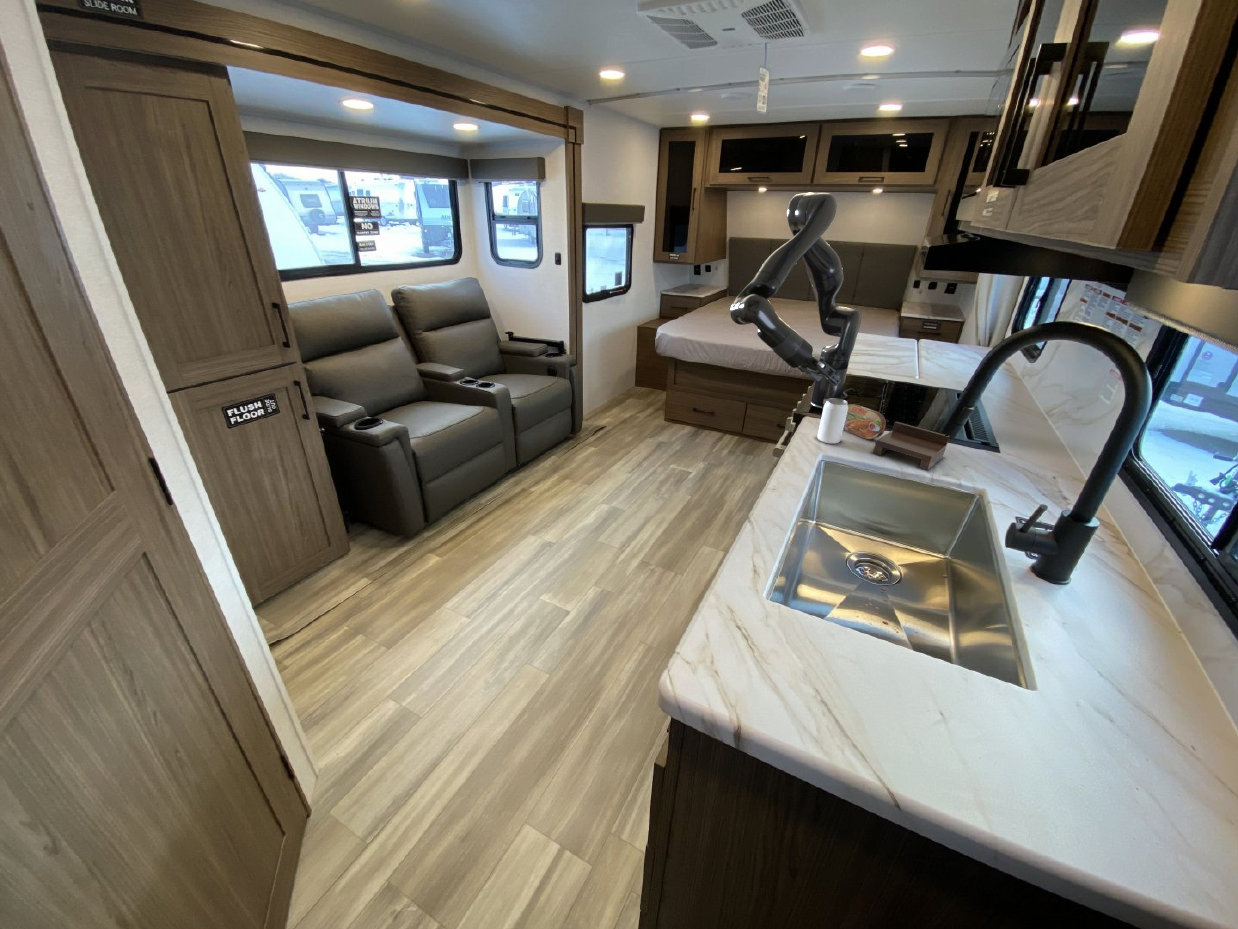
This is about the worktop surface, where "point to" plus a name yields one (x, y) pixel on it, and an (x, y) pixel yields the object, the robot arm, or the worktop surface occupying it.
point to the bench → (914, 443)
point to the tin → (864, 422)
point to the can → (832, 421)
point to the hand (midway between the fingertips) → (828, 381)
